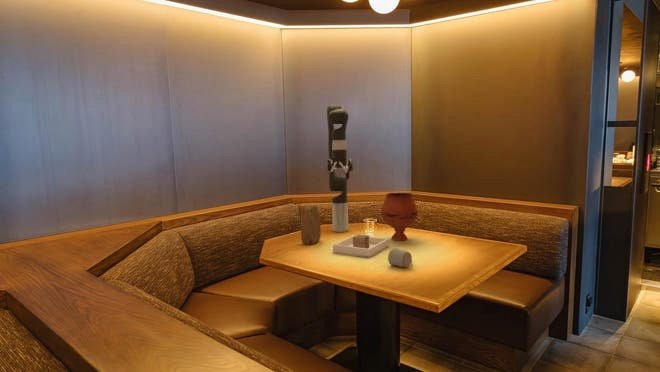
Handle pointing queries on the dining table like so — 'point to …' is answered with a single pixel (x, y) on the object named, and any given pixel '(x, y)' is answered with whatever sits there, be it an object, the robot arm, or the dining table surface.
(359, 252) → the tray
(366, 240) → the cube
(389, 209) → the goblet
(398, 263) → the grey barrel
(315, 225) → the block
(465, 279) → the dining table surface
